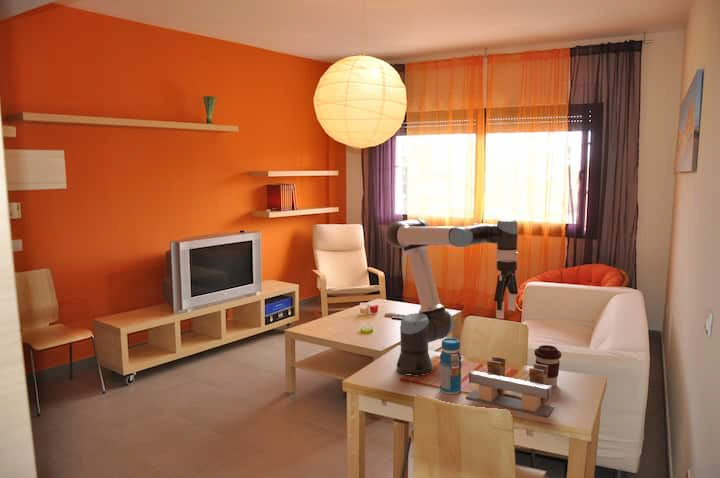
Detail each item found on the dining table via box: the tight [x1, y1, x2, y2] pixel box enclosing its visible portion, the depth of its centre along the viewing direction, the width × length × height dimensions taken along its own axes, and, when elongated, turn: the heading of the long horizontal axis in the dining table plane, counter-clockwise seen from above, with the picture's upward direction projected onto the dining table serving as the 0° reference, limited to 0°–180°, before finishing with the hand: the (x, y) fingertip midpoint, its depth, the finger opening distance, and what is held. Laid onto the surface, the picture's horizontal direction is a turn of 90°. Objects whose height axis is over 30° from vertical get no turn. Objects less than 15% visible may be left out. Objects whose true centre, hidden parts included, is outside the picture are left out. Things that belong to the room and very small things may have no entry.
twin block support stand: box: [465, 384, 555, 418], centre depth 201 cm, size 30×8×6 cm, turn 57°
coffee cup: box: [534, 344, 562, 388], centre depth 217 cm, size 10×10×15 cm
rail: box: [468, 369, 553, 400], centre depth 200 cm, size 29×4×4 cm, turn 57°
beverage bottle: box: [438, 337, 463, 395], centre depth 212 cm, size 8×8×20 cm
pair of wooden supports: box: [486, 355, 548, 405], centre depth 208 cm, size 22×6×12 cm, turn 57°
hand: (505, 314), depth 214 cm, fingers open, 13 cm apart
